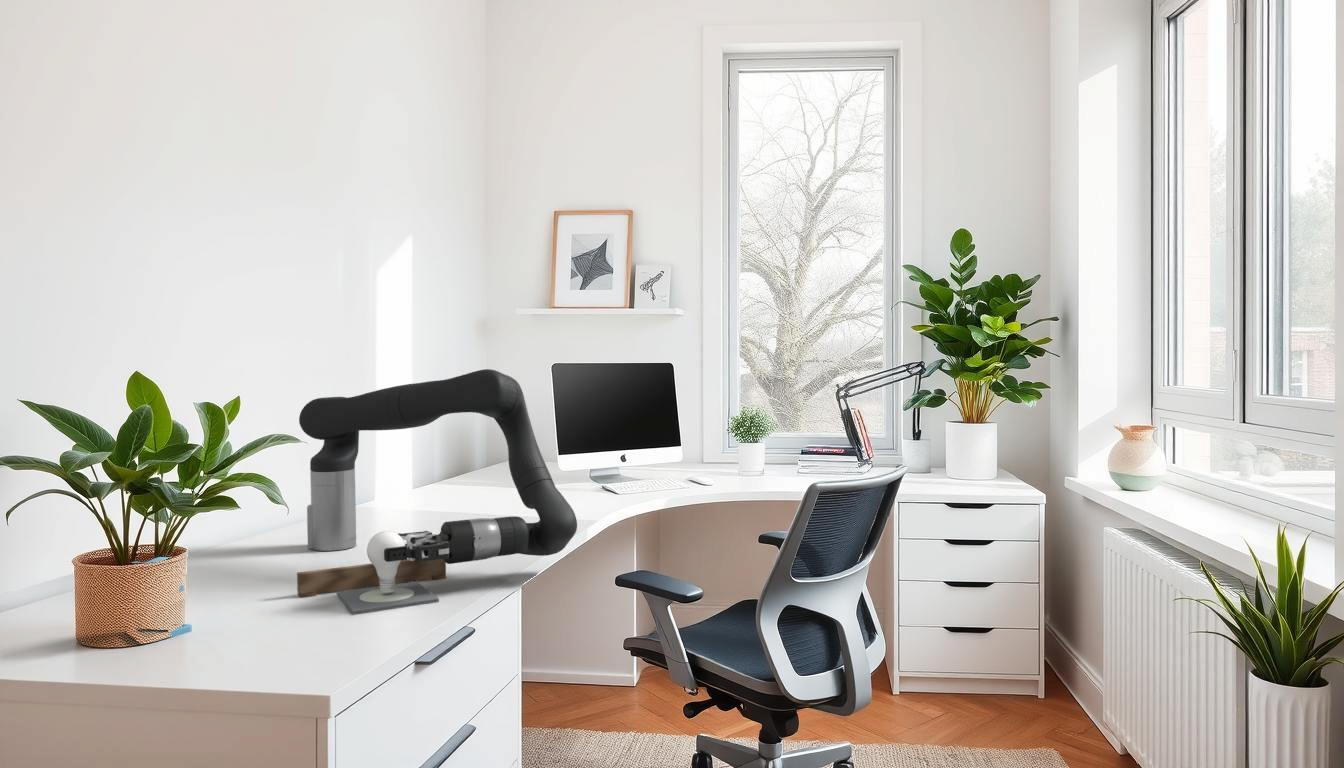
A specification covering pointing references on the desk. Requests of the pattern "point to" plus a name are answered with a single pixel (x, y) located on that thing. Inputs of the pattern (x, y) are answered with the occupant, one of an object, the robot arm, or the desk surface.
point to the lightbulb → (376, 556)
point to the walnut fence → (364, 576)
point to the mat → (386, 598)
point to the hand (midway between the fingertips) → (378, 550)
